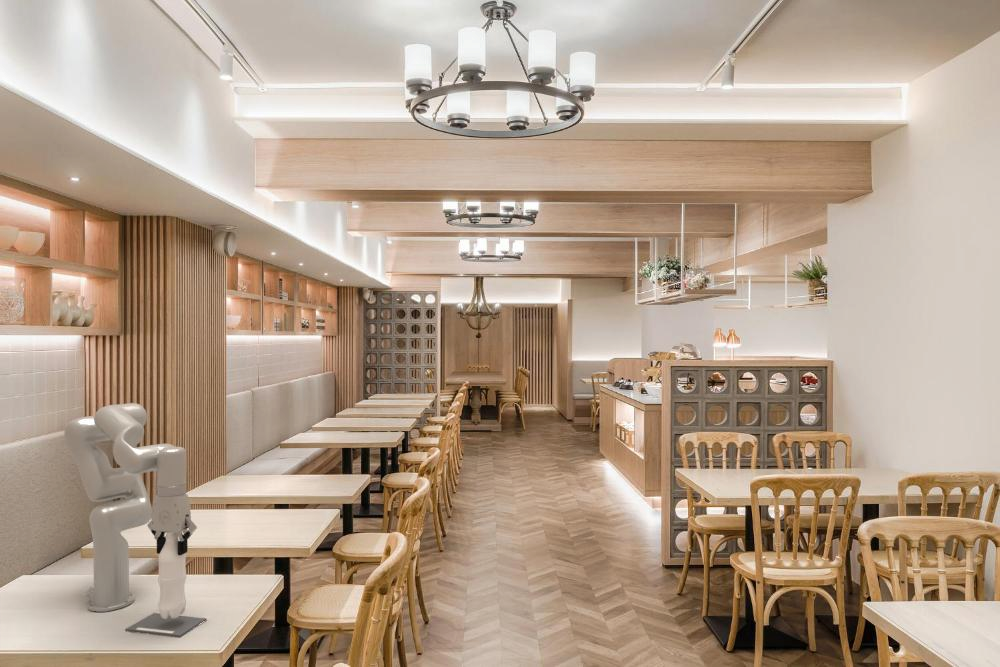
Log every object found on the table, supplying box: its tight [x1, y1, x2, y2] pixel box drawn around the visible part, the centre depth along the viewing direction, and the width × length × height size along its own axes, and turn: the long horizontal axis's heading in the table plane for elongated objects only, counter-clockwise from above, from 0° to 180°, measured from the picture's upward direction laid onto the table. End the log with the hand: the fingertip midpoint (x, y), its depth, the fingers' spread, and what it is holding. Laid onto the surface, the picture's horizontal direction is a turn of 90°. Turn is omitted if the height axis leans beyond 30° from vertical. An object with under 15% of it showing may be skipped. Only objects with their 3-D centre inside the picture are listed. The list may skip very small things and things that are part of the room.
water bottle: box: [157, 532, 187, 619], centre depth 189 cm, size 7×7×25 cm
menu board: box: [124, 612, 207, 638], centre depth 189 cm, size 18×11×1 cm, turn 77°
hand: (172, 552), depth 189 cm, fingers closed on water bottle, 6 cm apart
